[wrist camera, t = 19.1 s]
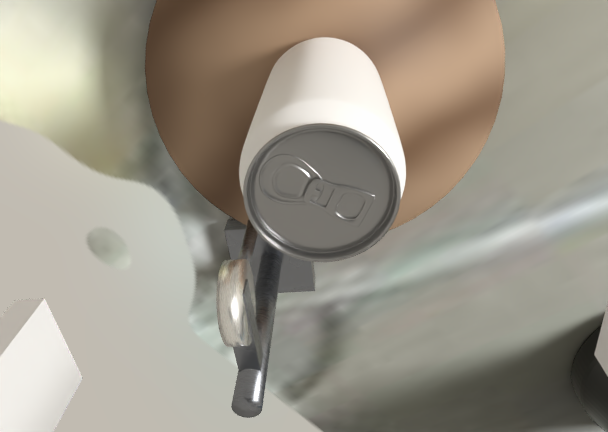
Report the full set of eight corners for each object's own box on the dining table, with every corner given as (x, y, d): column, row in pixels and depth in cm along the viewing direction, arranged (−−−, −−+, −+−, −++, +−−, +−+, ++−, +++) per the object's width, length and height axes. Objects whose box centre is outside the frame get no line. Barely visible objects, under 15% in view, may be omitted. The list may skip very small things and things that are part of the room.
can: (291, 14, 26) (267, 80, 15) (402, 63, 27) (448, 155, 16) (251, 123, 29) (208, 237, 19) (351, 163, 30) (363, 292, 20)
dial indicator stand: (315, 278, 40) (309, 441, 27) (241, 283, 40) (202, 445, 28) (301, 162, 34) (286, 297, 22) (217, 169, 35) (156, 304, 22)
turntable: (565, 90, 29) (660, 156, 21) (318, 277, 36) (316, 380, 28) (328, -228, 22) (329, -319, 14) (87, 84, 30) (-5, 145, 22)
